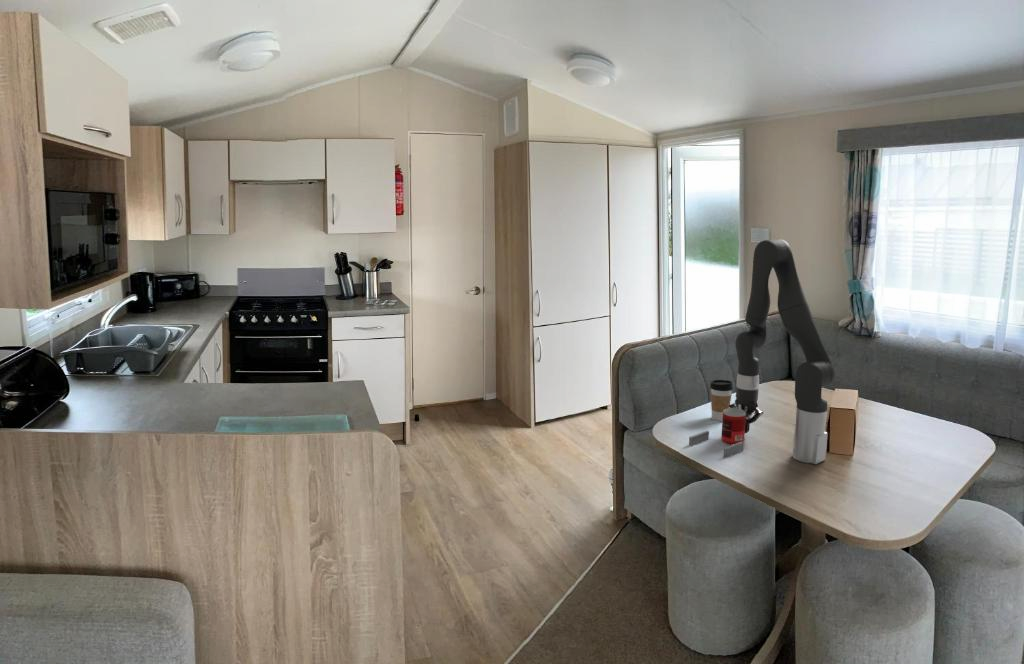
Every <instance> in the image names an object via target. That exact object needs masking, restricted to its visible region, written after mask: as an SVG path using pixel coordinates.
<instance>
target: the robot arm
mask: <svg viewBox="0 0 1024 664" xmlns="http://www.w3.org/2000/svg"><path fill="white" fill-rule="evenodd" d="M752 258H753V260H752V272H751V274H752V275H751V286H750V287H751V288H750V295H749V300H748V303H747V308H746V311H745V312H746V314H745V319H744V321H745V323H746V324H747V325H749V330H747V331H742V332H740V333H738V335H736V339H735V350H736V352H735V353H736V357H737V360H738V365H737V366H738V367H737V368H738V369H737V370H738V371H737V376H736V385H735V386H736V387H735V400H734V402H733V403H730V405H729V407H730V408H737V409H742V410H744V411H745V412H746V422H745V434H748V433H749V432H750V425H751V424H753V423H755V422H757V421H758V419H759V418H760V417H761V416H763V415H764V411H763V410H760V408H759V405H758V400H759V391H760V390H759V389H760V375H759V374H760V360H759V358H757V357H756V356H754V353H753V352H754V351H757V350H760V349H762V348H763V347H764V346H765V344H766V341H767V320H768V316H769V312H770V308H771V295H770V288H769V279H770V275H771V272H772V270H774V272H775V276H776V280H777V283H778V291H777V292H778V293H777V310H778V313H779V317H780V318H781V322H782V325H783V327H784V328H785V330H786V331H787V332H788V333H789V335H790V336H791V337H792V338H793V339H794V341H796V342H797V344H798V345H799V346H800V349H801V350H802V352H803V354H804V358H805V361H804V362H802V363H801V364H799V365H798V367H797V369H796V371H795V377H794V378H795V379H794V398H795V402H796V409H795V421H794V430H793V431H794V432H793V445H792V458H793V459H794V460H795V461H798V462H801V463H806V464H814V465H818V464H819V463H821V462H824V461H825V460H826V455H827V445H828V444H827V443H828V435H829V433H828V431H826V426H827V425H826V424H827V414H828V413H827V412H828V404H829V403H828V401H827V400H826V399H824V398H822V391H823V390H822V388H826V387H829V386H830V385H832V384H833V383H834V381H835V379H836V372H835V368H834V365H833V363H832V361H831V358H830V357H829V355H828V352H827V351H826V348H825V346H824V344H823V342H822V339H821V337H820V334H819V331H818V328H817V326H816V324H815V320H814V316H813V315H812V312H811V309H810V305H809V304H808V301H807V298H806V296H805V293H804V289H803V286H802V284H801V281H800V279H799V275H798V272H797V268H796V262H795V259H794V255H793V251H792V248H791V246H790V245H789V243H788V242H787V241H786V240H784V239H781V238H779V239H777V238H776V239H764V240H761V241H760V242H758V243H757V244H756V246H755V248H754V251H753V257H752ZM753 414H754V415H753Z"/></svg>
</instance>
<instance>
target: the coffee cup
mask: <svg viewBox="0 0 1024 664" xmlns="http://www.w3.org/2000/svg"><path fill="white" fill-rule="evenodd" d="M709 385H710V386H709V388H710V389H711V392H710V405H711V406H710V407H711V419H712V420H713V419H714V420H713V421H716V420H717V421H716V422H722V418H723V410H724V409H728V408H730V407H729V405H730V404H731V400H732V396H733V394H732V392H733V390H734V386H733V385H734V384H733V381H732V380H726V379H713V380H712V381H711V382H710V384H709Z"/></svg>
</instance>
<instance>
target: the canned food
mask: <svg viewBox="0 0 1024 664" xmlns="http://www.w3.org/2000/svg"><path fill="white" fill-rule="evenodd" d="M745 422H746V412H745V411H744V410H742V409H737V408H728V409H724V410H723V418H722V421H721V423H722V424H721V435H720V436H721V437H720V438H721V441H722V442H723V443H724V444H726V445H731V444H736V443H739V442H741V441H742V442H744V441H745V434H746V433H745ZM744 443H745V442H744Z"/></svg>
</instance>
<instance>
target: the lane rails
mask: <svg viewBox="0 0 1024 664" xmlns="http://www.w3.org/2000/svg"><path fill="white" fill-rule="evenodd" d="M709 435H710V431H709V430H705V431H702V432H699V433H696V434H693V435H690V436H689V438H688V446H690V447H693V446H695V445H697V444H700V443H703V442H705V441H707V440H709V438H710V436H709ZM702 441H703V442H702ZM744 445H745V442H742V441H741V442H739V443H736V444H734V445H731V444H730V445H729V446H726V447H724V449H723V458H725V459H727V458H729V457H732V456H734V455H736V454H738V452H739V453H741V452H743V451H744ZM731 455H732V456H731Z"/></svg>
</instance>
